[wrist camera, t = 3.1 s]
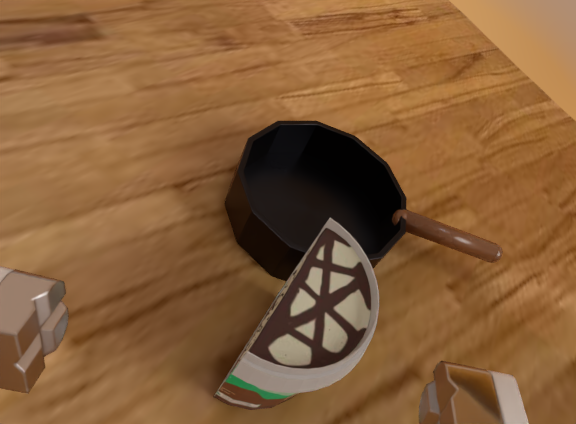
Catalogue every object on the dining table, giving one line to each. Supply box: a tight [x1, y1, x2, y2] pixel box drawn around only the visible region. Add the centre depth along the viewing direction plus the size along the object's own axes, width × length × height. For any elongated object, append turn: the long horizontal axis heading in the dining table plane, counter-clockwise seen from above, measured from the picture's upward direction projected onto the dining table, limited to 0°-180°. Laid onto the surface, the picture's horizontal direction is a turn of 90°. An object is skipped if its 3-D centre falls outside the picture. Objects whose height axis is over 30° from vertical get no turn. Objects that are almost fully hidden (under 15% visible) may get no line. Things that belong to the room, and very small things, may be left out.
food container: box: [214, 218, 379, 410], centre depth 34 cm, size 12×6×10 cm, turn 151°
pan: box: [225, 121, 503, 281], centre depth 46 cm, size 25×15×5 cm, turn 79°
